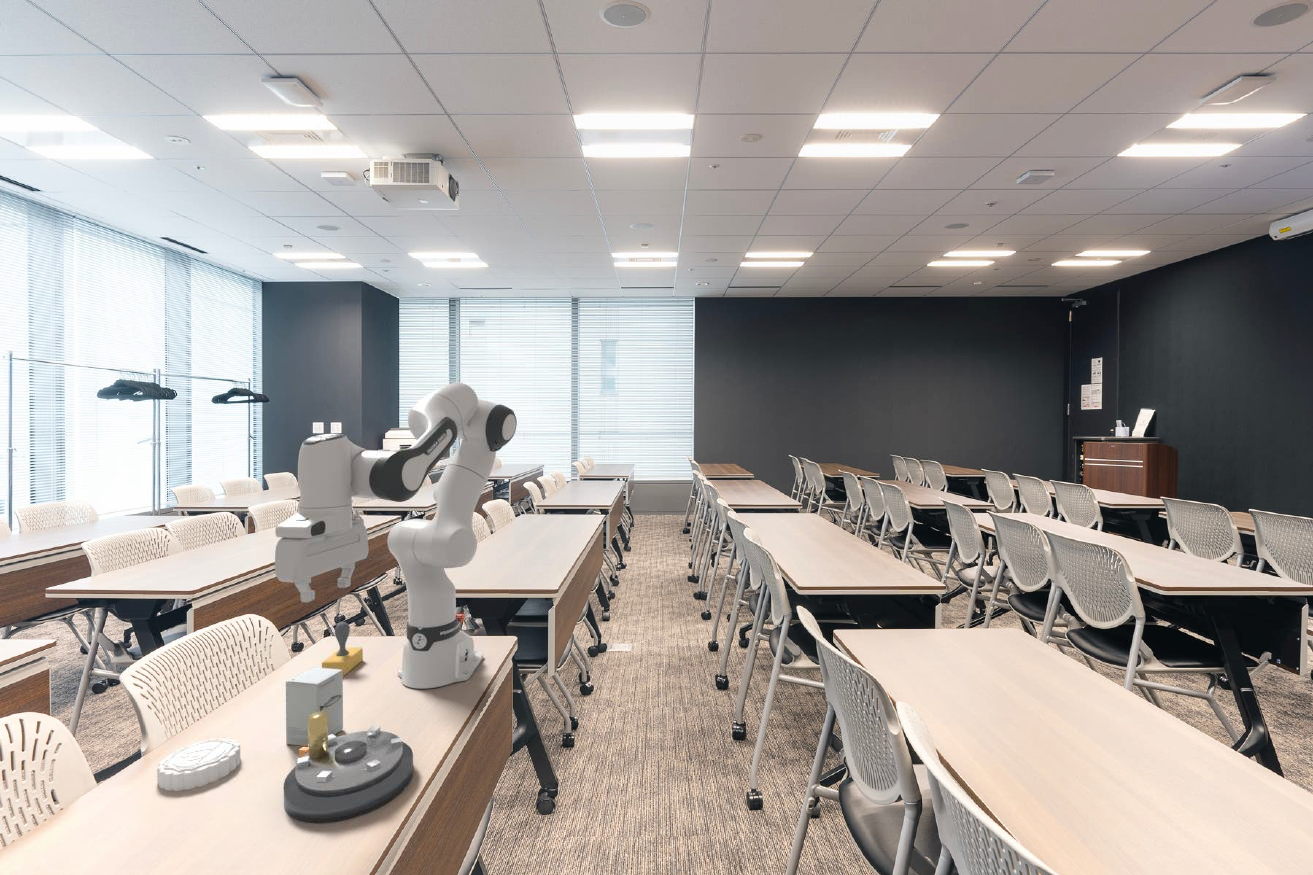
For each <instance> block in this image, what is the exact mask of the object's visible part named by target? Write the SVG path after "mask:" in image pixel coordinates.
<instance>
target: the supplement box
mask: <svg viewBox="0 0 1313 875" xmlns="http://www.w3.org/2000/svg"><path fill="white" fill-rule="evenodd" d="M343 677H344V676H343V670H340V669H329V668H322V667H315V666H314V667H311V668H310V669H307V670H306V671H303V672H302V673H300V674H298V675H296V676H294V677H292V678H290V679H289V680H287V681H285V734H286V735H285V742H286V744H287V745H293V746H301V747H308V716H309V715H311V714H313V713H315V712H320V711H325V712H327V713H328V736H329V735H331V734H333V735H335V736H336V734H338V733H339V732H341V731H342V730H343V729H344V700H343V699H344V697H343V696H344V692H343V690H344V686H343V682H344V681H343Z"/></svg>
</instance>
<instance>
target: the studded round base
mask: <svg viewBox="0 0 1313 875" xmlns="http://www.w3.org/2000/svg"><path fill="white" fill-rule="evenodd" d="M402 742H403V741H402V737H399V735H397V734H395V733H392V732H388V731H383V730H381V726H379V725H378V726H377V725H372V726H371V727H370V728H368V729H367V730H363V731H355V732H351V733H346V734H343V735H339V736H336V734H335V735H333V734H331V735H329V736H328V713H327V712H325V711H320V712H315V713H313V714H311V715H309V716H308V746H307V747H308V752H307V753H306V754H305V755H303V756H302V757H301V758H299V757H298V758H297V761H296V762H297V763H296V765H295V766H296V769H295V776H296V786H297V787H298V789H299V790H300V791H302V792H304V793H306V794H309V795H313V796H337V795H343V794H348V793H352V792H356V791H359V790H362V789H365V788H367V787H370V786H372V785H374V784H376V783H378V782H380V781H382V780H383V779H385V778H386V777H388V776H389V775H391V774H392V773H393V772H394V771H395V770H396V769H397V768H398V767H399V765H400V764H401V762H402V759H403V744H402Z"/></svg>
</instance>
